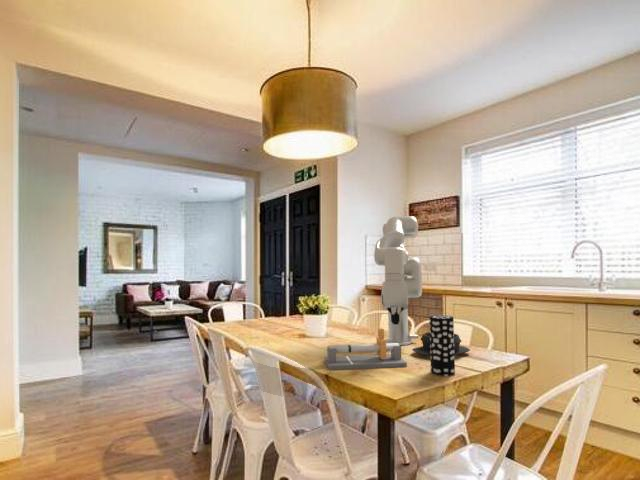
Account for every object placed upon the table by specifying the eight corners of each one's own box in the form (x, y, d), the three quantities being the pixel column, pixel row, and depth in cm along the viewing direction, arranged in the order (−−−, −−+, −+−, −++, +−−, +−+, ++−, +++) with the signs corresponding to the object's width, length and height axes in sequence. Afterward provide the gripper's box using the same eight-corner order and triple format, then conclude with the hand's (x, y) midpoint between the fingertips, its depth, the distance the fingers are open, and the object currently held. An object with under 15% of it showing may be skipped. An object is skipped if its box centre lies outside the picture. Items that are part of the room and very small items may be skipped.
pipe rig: (395, 357, 164) (395, 339, 165) (406, 366, 150) (406, 346, 151) (324, 360, 161) (324, 341, 161) (329, 369, 147) (328, 349, 148)
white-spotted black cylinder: (428, 369, 146) (427, 315, 147) (451, 369, 146) (449, 315, 147) (434, 376, 138) (432, 318, 139) (458, 376, 137) (456, 318, 138)
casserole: (453, 347, 182) (452, 329, 182) (480, 357, 164) (479, 336, 165) (404, 351, 175) (404, 332, 175) (427, 362, 157) (426, 340, 158)
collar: (381, 354, 160) (381, 326, 161) (386, 358, 153) (385, 329, 154) (376, 354, 160) (376, 327, 161) (381, 358, 153) (380, 330, 154)
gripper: (409, 277, 163) (410, 322, 162) (374, 278, 162) (374, 323, 160) (415, 278, 156) (416, 325, 154) (378, 278, 154) (379, 325, 153)
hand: (395, 324), depth 157 cm, fingers closed
